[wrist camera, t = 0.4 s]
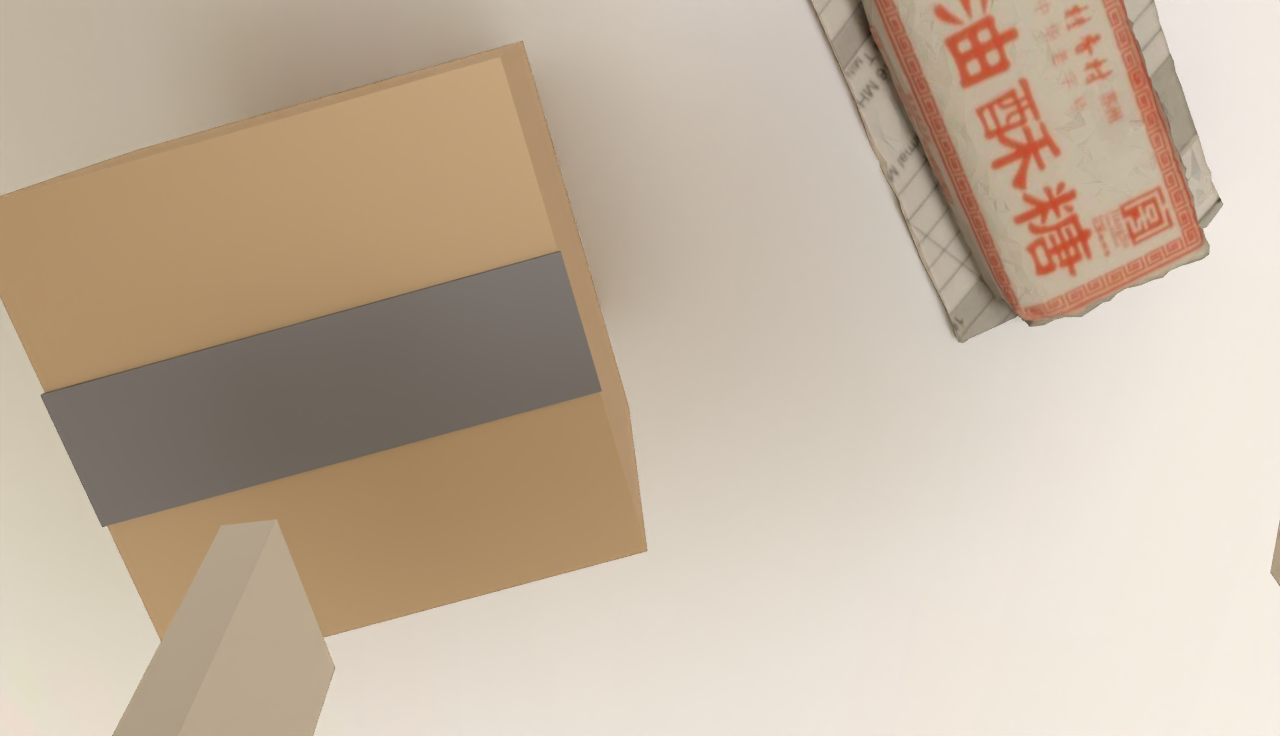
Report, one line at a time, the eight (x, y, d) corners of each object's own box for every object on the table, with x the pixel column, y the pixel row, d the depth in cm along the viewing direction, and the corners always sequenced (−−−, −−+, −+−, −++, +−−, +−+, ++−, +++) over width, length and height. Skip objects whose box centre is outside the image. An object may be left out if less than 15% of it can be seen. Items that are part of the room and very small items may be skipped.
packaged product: (1288, 238, 36) (997, 379, 36) (1206, 211, 40) (950, 336, 41) (1100, -350, 30) (764, -168, 31) (1030, -304, 35) (740, -146, 36)
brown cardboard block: (134, 150, 30) (-47, 211, 21) (524, 40, 29) (502, 56, 21) (279, 502, 33) (173, 679, 24) (630, 406, 33) (649, 552, 24)
